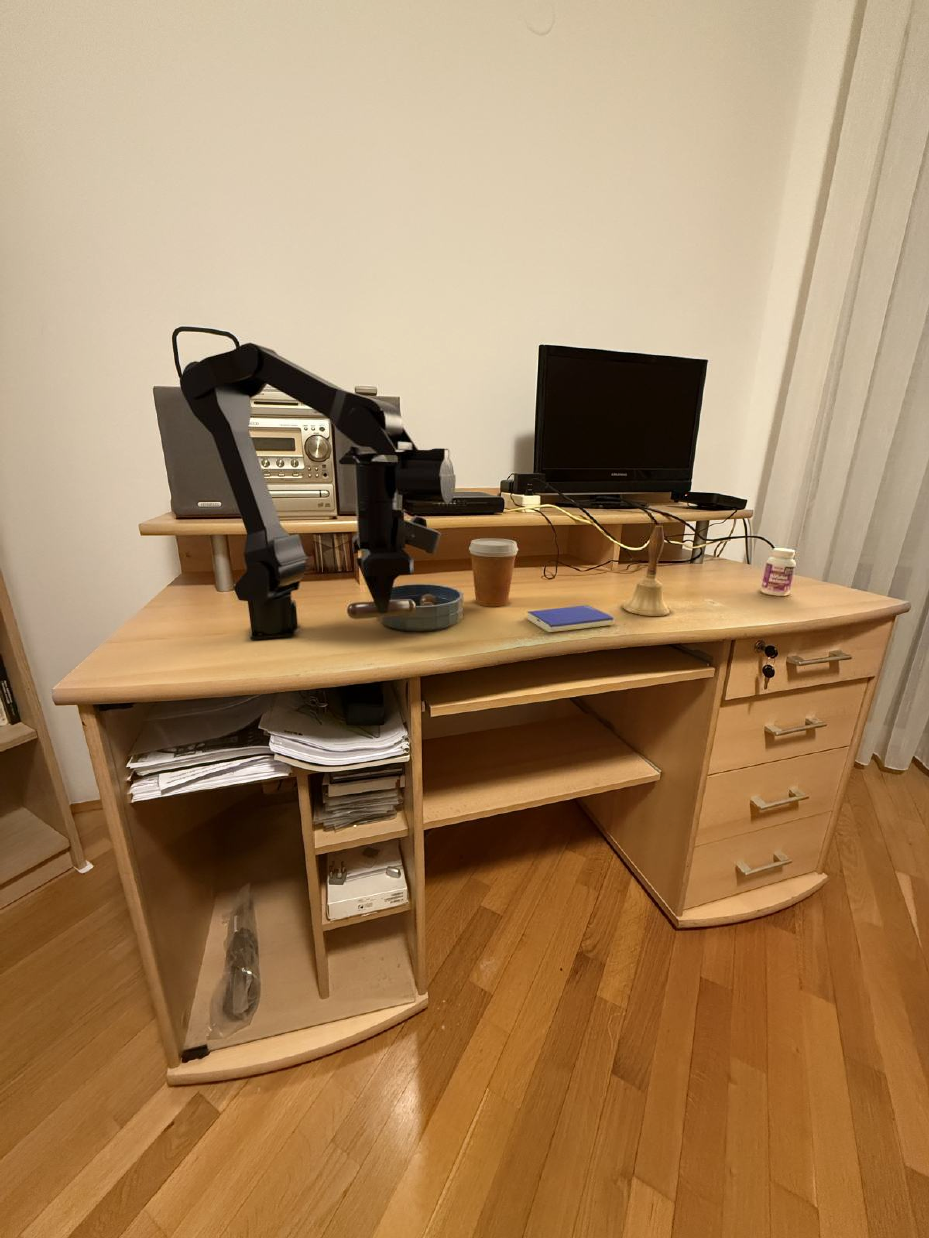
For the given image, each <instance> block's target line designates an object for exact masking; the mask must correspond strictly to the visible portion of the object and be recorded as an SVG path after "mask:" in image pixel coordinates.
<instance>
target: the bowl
mask: <svg viewBox="0 0 929 1238" xmlns="http://www.w3.org/2000/svg"><path fill="white" fill-rule="evenodd" d="M426 594H430V595H433V596H434V597H435V598H436V601H437V604H436V605H432V606H420V599H421V598H422V597H423V596H424V595H426ZM400 599H411V600H413V601H414V602H415V604H416V610H415V612H414V613H413V614H411V615H404V616H391V617H378V618H375V619H376V621H378V622H379V623H381V624H383V625H385V626H386V627H388V628H390V629H394V630H397V631H405V632H433V631H438V630H443V629H446V628H449V627H451V626H453V625H454V624H456V623H458V622H460V621H461V620H462V619H463V617H464V593H463V592H462V591H461V590H460V589H457V588H454V587H452V586H447V585H442V584H434V583H409V584H407V583H405V584H399V585H393V588H392V592H391V597H390V600H400Z"/></svg>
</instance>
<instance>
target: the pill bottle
mask: <svg viewBox="0 0 929 1238" xmlns="http://www.w3.org/2000/svg"><path fill="white" fill-rule="evenodd" d="M771 554H772V557H769V558H768V559H767V560H766V565H765V569H764V572H763V577H762V581H761V586H760V591H761V592H762V593H763V594H766V595H770V596H777V597H783V596H784V597H785V596H788V595H789V594H790V590H791V587H792V582H793V580H794V579H793V578H794V575H795V570H796V565H797V563H796V561H795V560H794V559H793V558H794V557H795V554H796V550H794V549H791V548H784V547H783V548H781V547H774V548H773V550H772V553H771Z"/></svg>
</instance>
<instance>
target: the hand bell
mask: <svg viewBox="0 0 929 1238" xmlns="http://www.w3.org/2000/svg"><path fill="white" fill-rule="evenodd" d="M664 545H665V534H664V526H663V525H655V526H654V529H653V531H652V532H651V535H650V537H649V540H648V548H647V549H648V551H647V552H648V565H647V571H646V573H645V575H646V576H645V577H644V578H642V579H640V580H638V581H637V583H636V586H635V589H634V592H633V594H632V596H631V598H630V599H629V600H628V601H627V602H625V603H624V605H623V609H624V610H625V611H626V612H629V613H632V614H636V615H640V616H647V617H665V616H667V615H669V614H670V610H669V608H668V606H667V605H666V603H665V602H664V598H663V583H661V582H660V581H658V579H657V574H658V571H657V570H658V563H659V560H660V556H661V555H662V552H663V549H664Z"/></svg>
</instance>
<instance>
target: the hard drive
mask: <svg viewBox="0 0 929 1238" xmlns="http://www.w3.org/2000/svg"><path fill="white" fill-rule="evenodd" d="M526 618H527V620H528V621H530V622H532V623H533V624H535V625H537V626H538V627H540V628H541V629H543V630H544V631H546V632H548V633H554V632H556V633H557V632H564V631H573V630H579V629H588V628H597V627H604V626H612V625H614V617H613V616H612V615H611V614H608V613H606V612H604V611H602V610H599V609H597V608H595V607H593V606H590V605H588V604H585V605H574V606H567V607H557V608H548V609H540V610H529V611H527V612H526Z"/></svg>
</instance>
